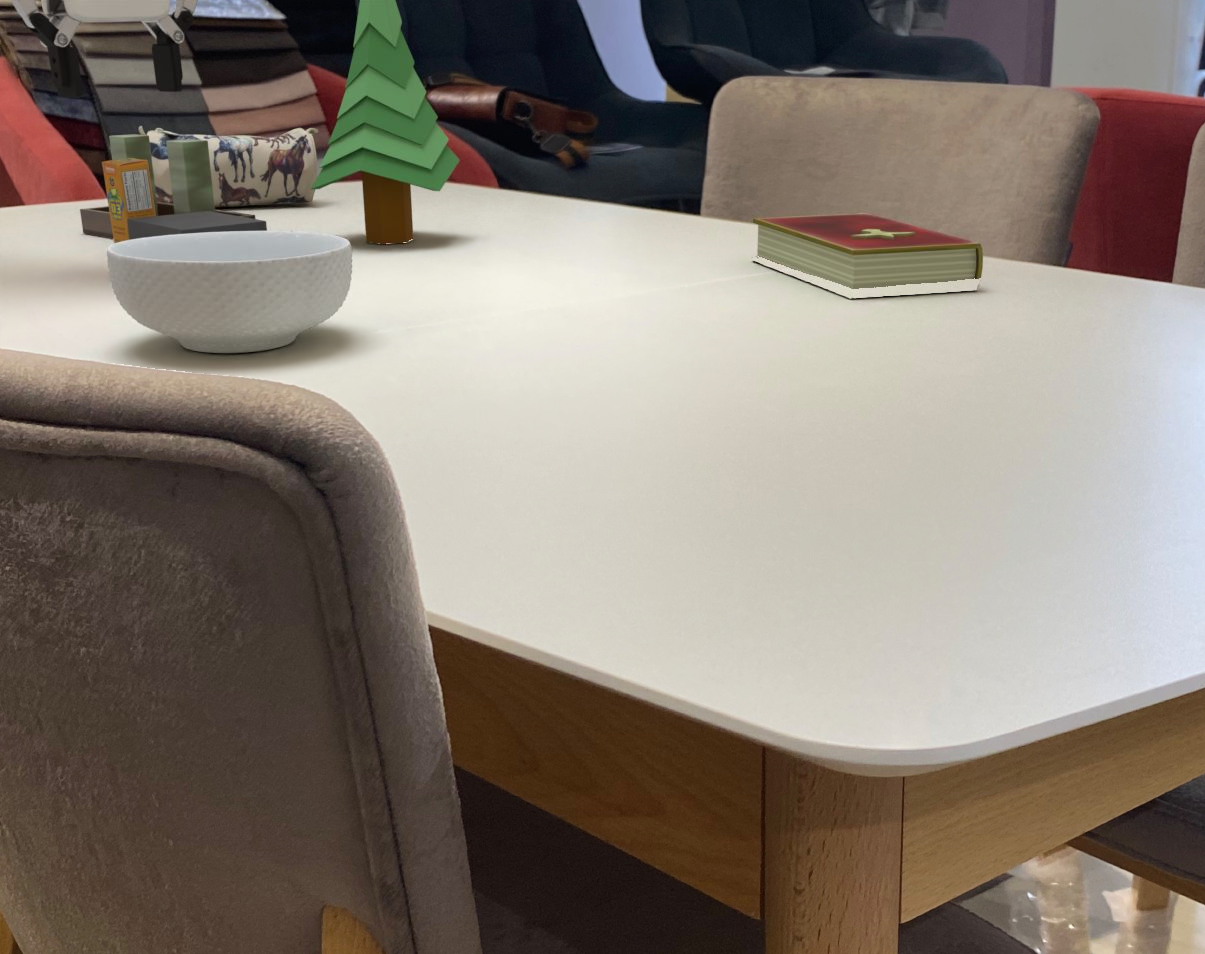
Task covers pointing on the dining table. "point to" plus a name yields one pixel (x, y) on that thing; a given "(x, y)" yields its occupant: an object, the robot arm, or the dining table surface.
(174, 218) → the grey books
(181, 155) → the book rack
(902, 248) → the hardcover book
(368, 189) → the decorative tree
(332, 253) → the cereal bowl
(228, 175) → the pencil case
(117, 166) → the supplement box
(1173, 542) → the dining table surface
